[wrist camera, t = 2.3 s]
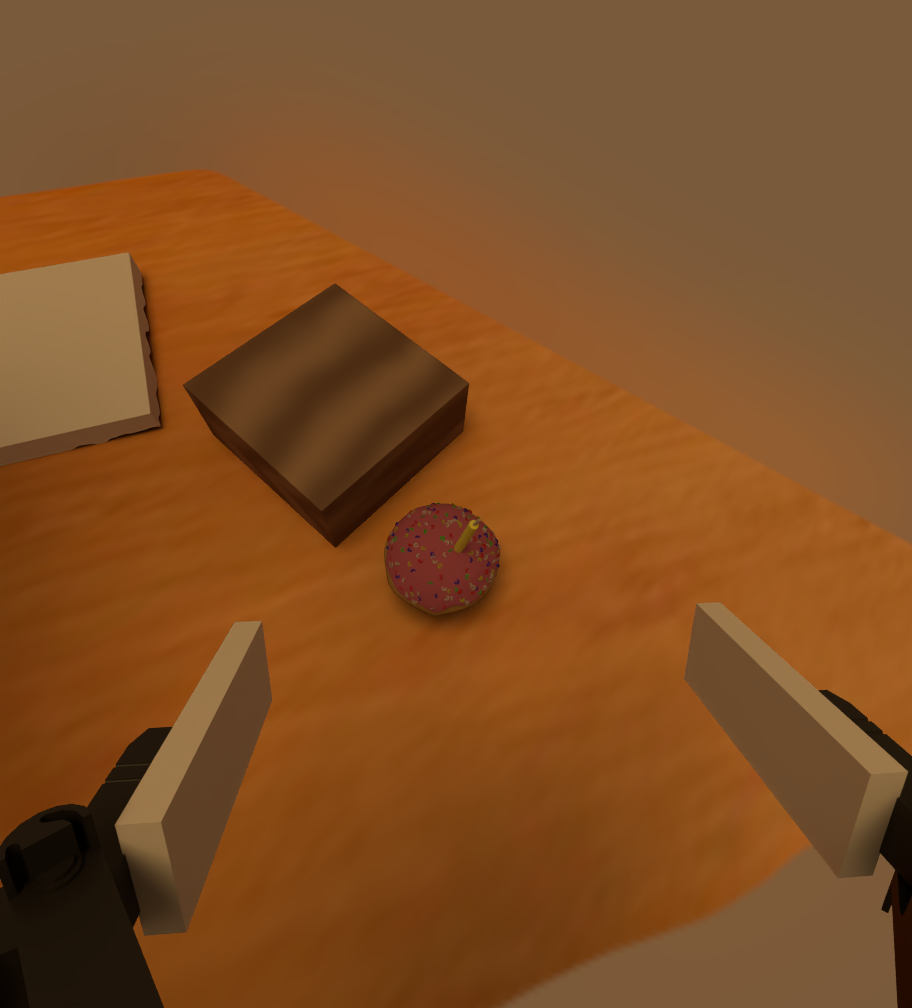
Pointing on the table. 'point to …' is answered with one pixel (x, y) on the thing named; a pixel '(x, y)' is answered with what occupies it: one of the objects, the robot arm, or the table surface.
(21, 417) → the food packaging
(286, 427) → the riser
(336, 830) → the table surface
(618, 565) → the table surface
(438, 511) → the cupcake
